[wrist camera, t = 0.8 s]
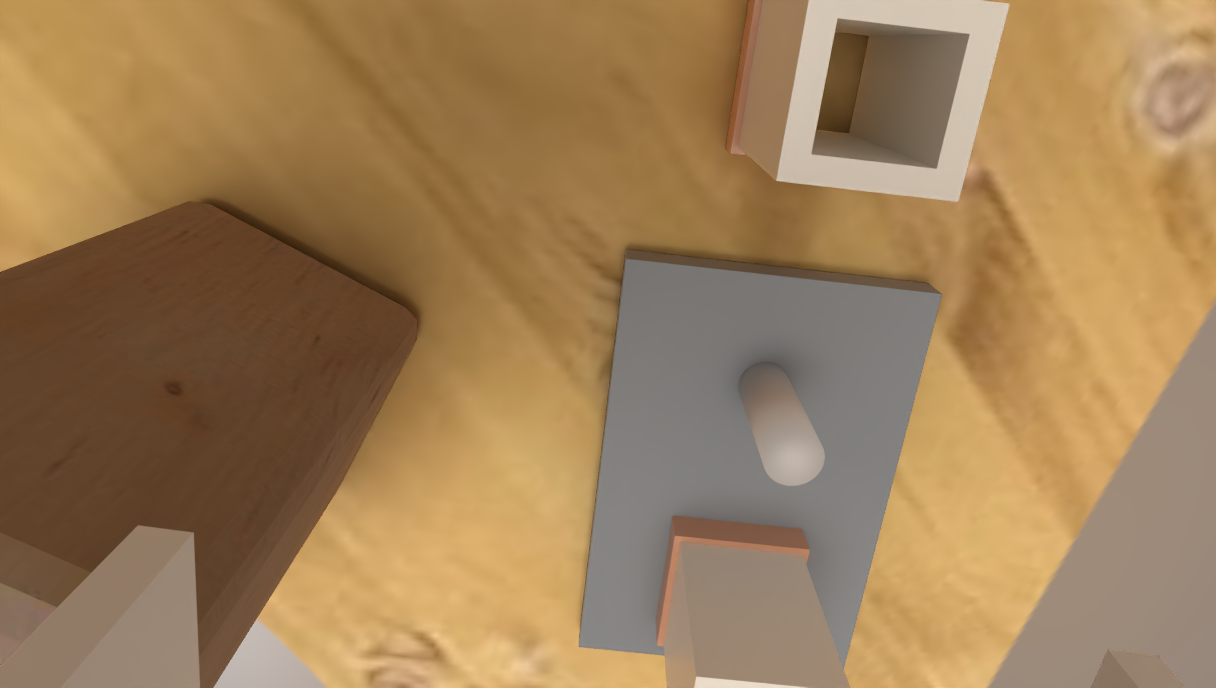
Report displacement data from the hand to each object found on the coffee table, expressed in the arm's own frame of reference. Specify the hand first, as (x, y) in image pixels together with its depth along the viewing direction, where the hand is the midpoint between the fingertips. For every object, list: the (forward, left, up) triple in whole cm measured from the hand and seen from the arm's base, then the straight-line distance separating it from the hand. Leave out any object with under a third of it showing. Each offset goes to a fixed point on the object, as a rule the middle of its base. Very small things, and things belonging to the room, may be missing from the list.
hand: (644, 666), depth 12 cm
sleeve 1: (+13, +6, -20) cm, 25 cm away
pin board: (+8, +6, -22) cm, 24 cm away
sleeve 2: (-8, +6, -22) cm, 24 cm away
